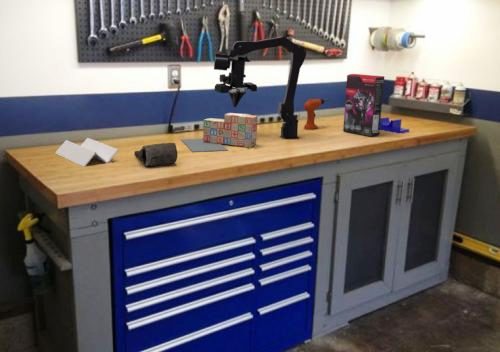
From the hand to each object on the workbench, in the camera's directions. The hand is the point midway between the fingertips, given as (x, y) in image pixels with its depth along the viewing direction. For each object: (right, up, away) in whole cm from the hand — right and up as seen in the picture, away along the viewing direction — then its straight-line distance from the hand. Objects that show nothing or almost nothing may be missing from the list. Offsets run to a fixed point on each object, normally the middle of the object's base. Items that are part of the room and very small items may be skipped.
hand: (234, 106), depth 226 cm
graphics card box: (+59, -11, +17) cm, 62 cm away
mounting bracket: (+75, -8, +29) cm, 81 cm away
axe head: (-26, -24, -39) cm, 53 cm away
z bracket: (-52, -24, -40) cm, 70 cm away
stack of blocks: (-2, -17, -13) cm, 21 cm away
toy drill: (+40, -6, +30) cm, 50 cm away
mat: (-12, -18, -16) cm, 27 cm away
